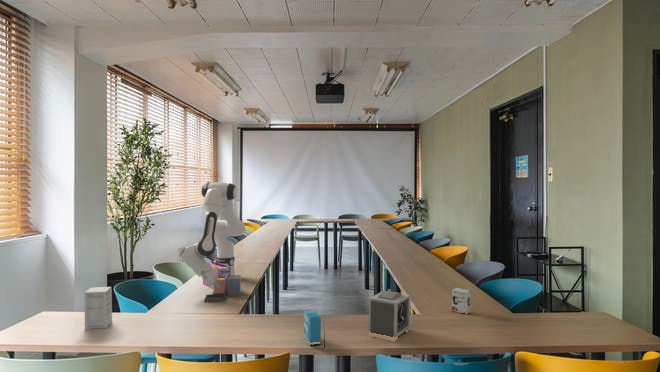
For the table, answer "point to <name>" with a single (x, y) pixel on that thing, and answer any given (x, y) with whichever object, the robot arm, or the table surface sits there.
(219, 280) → the salmon pink tall block
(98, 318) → the supplement box
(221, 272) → the gum box
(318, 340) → the data package
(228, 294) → the dispenser
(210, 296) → the tray
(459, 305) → the ink box
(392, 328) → the alarm clock
